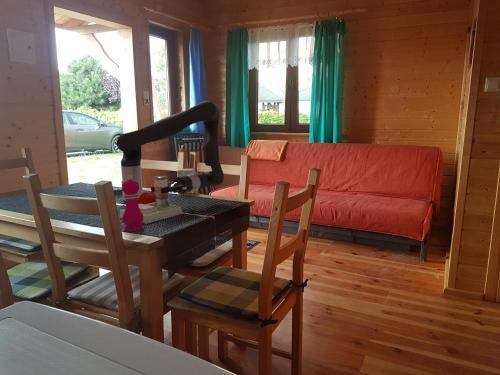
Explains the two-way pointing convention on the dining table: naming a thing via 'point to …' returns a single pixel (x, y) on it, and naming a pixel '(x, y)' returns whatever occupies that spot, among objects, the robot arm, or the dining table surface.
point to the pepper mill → (132, 205)
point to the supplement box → (185, 173)
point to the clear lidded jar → (160, 199)
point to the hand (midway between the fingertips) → (156, 190)
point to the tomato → (146, 198)
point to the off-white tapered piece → (147, 209)
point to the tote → (159, 213)
